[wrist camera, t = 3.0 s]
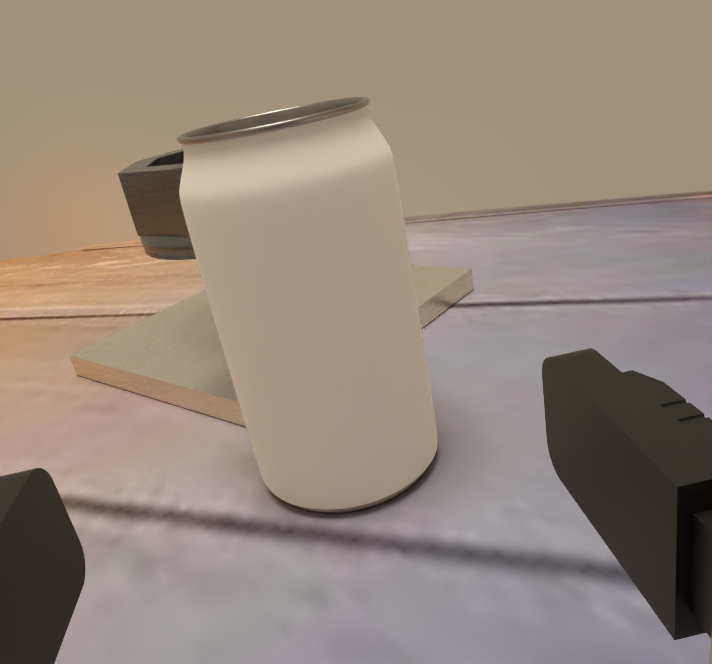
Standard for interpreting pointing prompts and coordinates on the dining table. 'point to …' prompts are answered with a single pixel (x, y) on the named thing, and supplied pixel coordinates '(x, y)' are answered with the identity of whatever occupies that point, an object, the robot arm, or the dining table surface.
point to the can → (313, 300)
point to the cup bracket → (199, 309)
